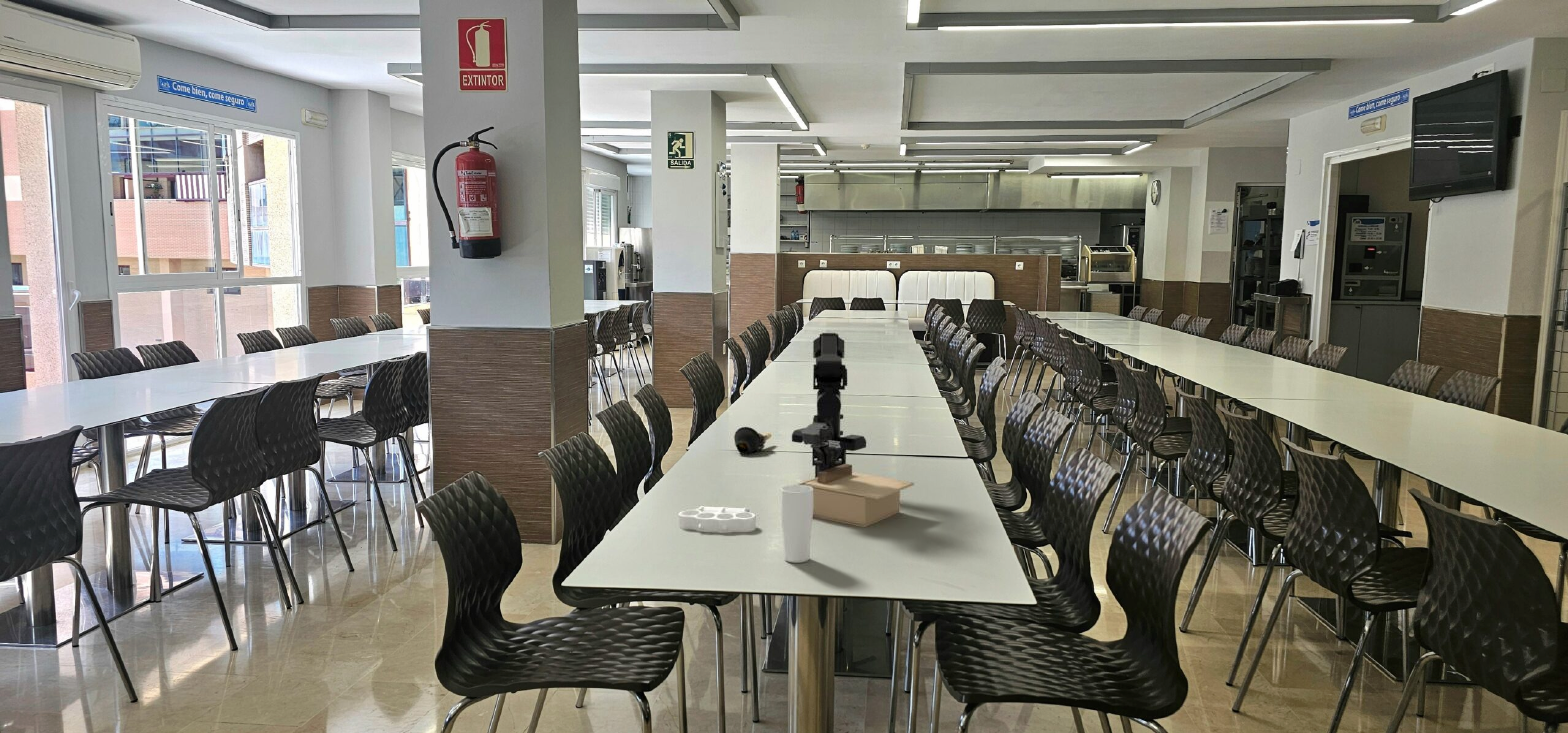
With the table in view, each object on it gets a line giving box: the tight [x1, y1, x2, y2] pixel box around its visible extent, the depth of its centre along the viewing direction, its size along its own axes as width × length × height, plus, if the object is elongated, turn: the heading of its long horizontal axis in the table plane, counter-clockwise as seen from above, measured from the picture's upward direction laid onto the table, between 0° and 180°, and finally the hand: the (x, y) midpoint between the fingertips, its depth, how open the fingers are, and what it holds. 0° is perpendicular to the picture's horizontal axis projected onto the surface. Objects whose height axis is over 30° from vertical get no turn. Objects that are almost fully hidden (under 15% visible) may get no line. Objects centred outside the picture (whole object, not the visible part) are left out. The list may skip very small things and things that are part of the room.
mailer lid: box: [805, 463, 915, 499], centre depth 223 cm, size 21×17×3 cm
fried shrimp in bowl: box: [733, 426, 772, 455], centre depth 298 cm, size 9×11×18 cm
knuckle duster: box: [678, 505, 757, 534], centre depth 216 cm, size 3×18×15 cm
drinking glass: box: [780, 484, 814, 564], centre depth 190 cm, size 7×7×15 cm
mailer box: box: [794, 477, 901, 528], centre depth 226 cm, size 20×16×7 cm
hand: (828, 473), depth 229 cm, fingers closed
